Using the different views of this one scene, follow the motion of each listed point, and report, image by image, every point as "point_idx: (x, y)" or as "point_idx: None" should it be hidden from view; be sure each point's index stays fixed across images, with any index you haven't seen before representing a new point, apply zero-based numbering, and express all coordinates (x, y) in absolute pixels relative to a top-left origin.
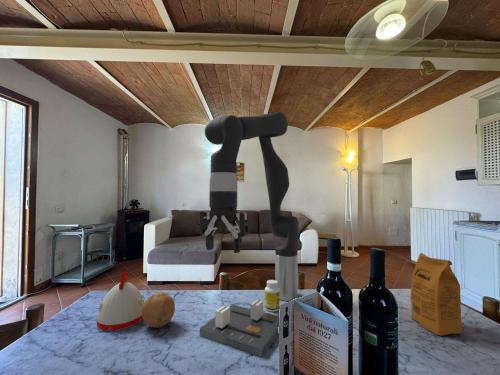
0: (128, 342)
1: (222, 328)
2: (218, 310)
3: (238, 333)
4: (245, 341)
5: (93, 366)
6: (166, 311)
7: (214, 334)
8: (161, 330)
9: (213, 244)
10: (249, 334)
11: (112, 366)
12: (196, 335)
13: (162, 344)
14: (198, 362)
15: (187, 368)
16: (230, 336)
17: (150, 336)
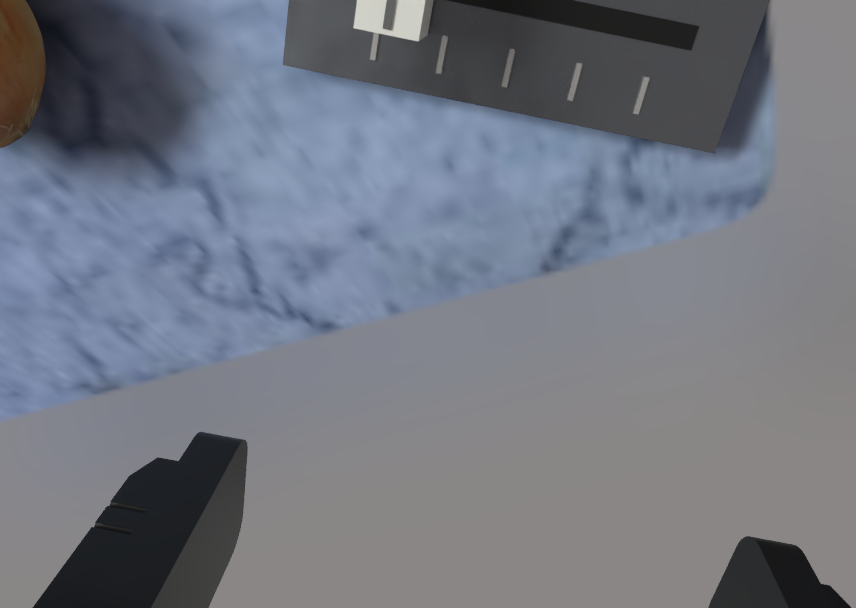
0: (3, 233)
1: None
2: (372, 14)
3: (545, 41)
4: (610, 111)
5: (37, 390)
6: (10, 98)
7: (399, 87)
8: (53, 85)
9: (221, 484)
10: (620, 33)
11: (101, 372)
12: (276, 66)
13: (165, 198)
14: (411, 262)
15: (386, 306)
16: (506, 90)
17: (51, 157)
